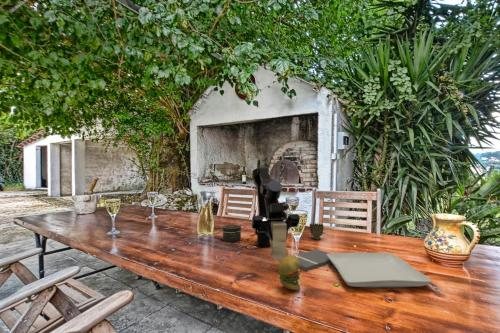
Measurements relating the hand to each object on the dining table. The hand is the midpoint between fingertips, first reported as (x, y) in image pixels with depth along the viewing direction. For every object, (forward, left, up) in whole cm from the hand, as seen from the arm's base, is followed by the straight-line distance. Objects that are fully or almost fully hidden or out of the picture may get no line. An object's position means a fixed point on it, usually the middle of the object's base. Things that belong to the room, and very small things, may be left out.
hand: (279, 240), depth 104 cm
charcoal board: (-1, +19, -12) cm, 22 cm away
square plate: (+22, +26, -12) cm, 36 cm away
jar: (-49, +8, -12) cm, 51 cm away
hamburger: (+13, -6, -12) cm, 19 cm away
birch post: (-1, 0, -7) cm, 7 cm away
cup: (-23, +46, -12) cm, 53 cm away
